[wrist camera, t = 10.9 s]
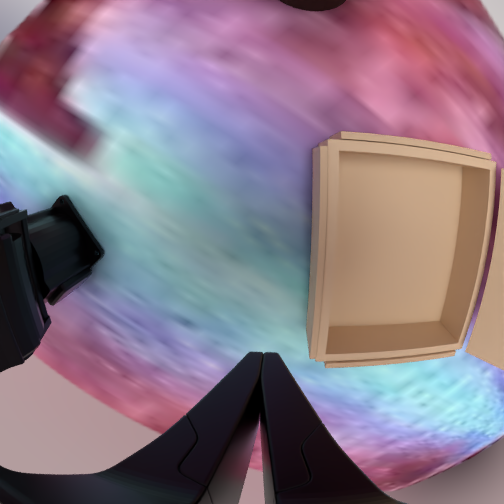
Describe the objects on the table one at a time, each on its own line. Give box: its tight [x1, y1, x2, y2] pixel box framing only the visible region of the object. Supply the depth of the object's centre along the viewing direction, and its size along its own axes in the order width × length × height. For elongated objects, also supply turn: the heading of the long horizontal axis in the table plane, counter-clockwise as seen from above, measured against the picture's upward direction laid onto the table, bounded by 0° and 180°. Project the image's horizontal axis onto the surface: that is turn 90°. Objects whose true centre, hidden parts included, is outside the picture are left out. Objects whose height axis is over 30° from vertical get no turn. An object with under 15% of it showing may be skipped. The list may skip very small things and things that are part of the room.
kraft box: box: [306, 131, 496, 368], centre depth 18 cm, size 12×15×4 cm
